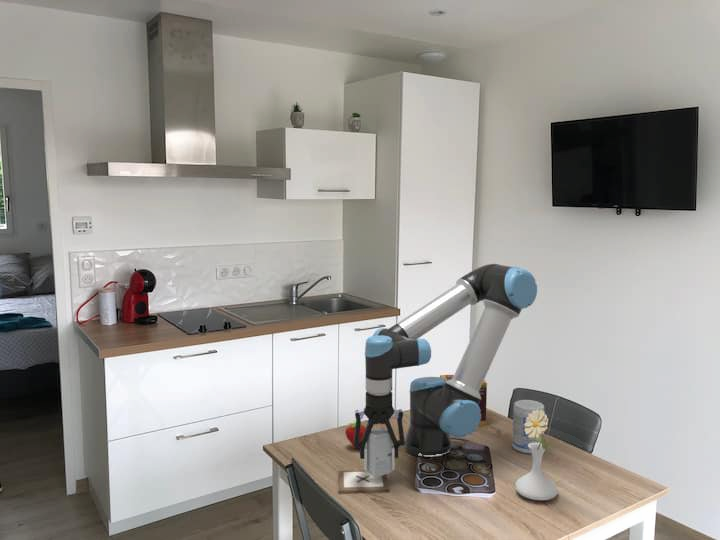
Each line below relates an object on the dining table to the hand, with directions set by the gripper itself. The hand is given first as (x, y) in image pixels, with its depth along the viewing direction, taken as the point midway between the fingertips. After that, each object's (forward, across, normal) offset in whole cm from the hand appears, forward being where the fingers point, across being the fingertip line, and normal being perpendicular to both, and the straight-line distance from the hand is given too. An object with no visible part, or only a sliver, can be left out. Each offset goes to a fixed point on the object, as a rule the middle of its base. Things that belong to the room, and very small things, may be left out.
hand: (379, 468), depth 172 cm
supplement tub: (+4, -49, -20) cm, 53 cm away
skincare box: (+1, 0, 0) cm, 1 cm away
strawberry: (+4, +6, -23) cm, 24 cm away
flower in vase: (+4, -42, +10) cm, 44 cm away
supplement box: (+4, -34, -45) cm, 56 cm away
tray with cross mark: (+4, +5, 0) cm, 6 cm away
